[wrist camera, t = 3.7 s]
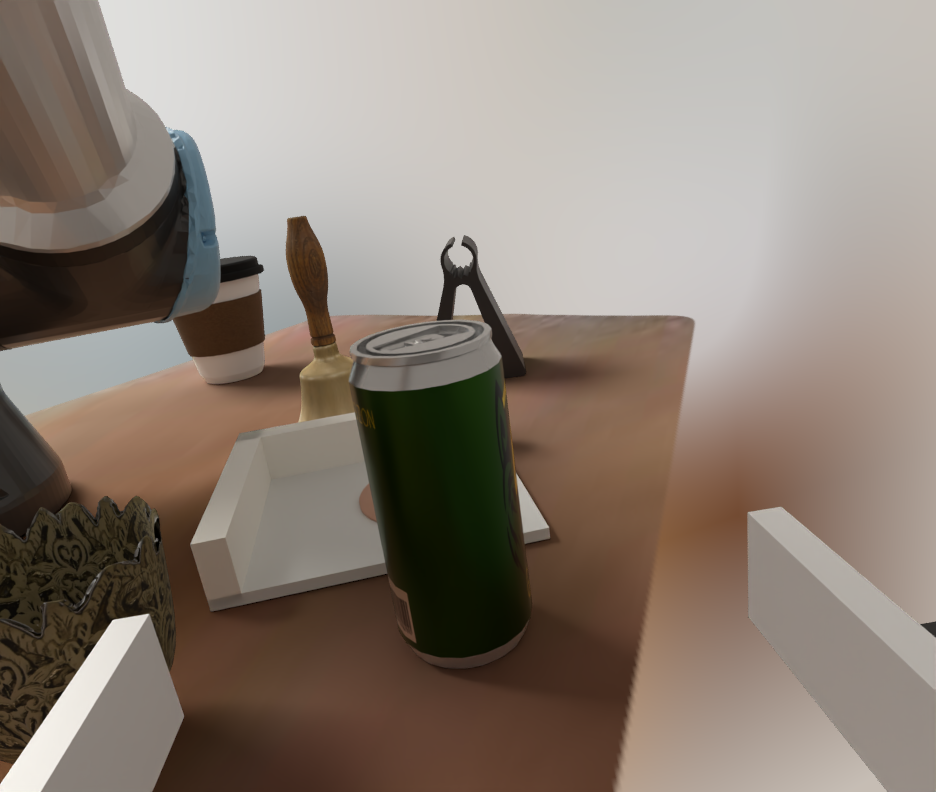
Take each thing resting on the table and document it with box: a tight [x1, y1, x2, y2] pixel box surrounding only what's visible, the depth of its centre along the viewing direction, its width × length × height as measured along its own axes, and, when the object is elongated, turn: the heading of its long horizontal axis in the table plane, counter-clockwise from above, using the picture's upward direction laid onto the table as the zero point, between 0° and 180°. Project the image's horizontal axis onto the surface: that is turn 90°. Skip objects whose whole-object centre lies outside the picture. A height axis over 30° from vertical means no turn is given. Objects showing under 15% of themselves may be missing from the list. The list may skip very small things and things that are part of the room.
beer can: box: [349, 320, 532, 669], centre depth 24 cm, size 5×5×12 cm
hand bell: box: [286, 216, 355, 423], centre depth 47 cm, size 8×8×16 cm
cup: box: [0, 496, 176, 764], centre depth 21 cm, size 8×7×8 cm
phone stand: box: [437, 235, 526, 378], centre depth 58 cm, size 9×6×12 cm, turn 88°
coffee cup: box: [173, 256, 265, 384], centre depth 69 cm, size 11×11×12 cm
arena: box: [190, 412, 550, 612], centre depth 37 cm, size 16×14×4 cm
